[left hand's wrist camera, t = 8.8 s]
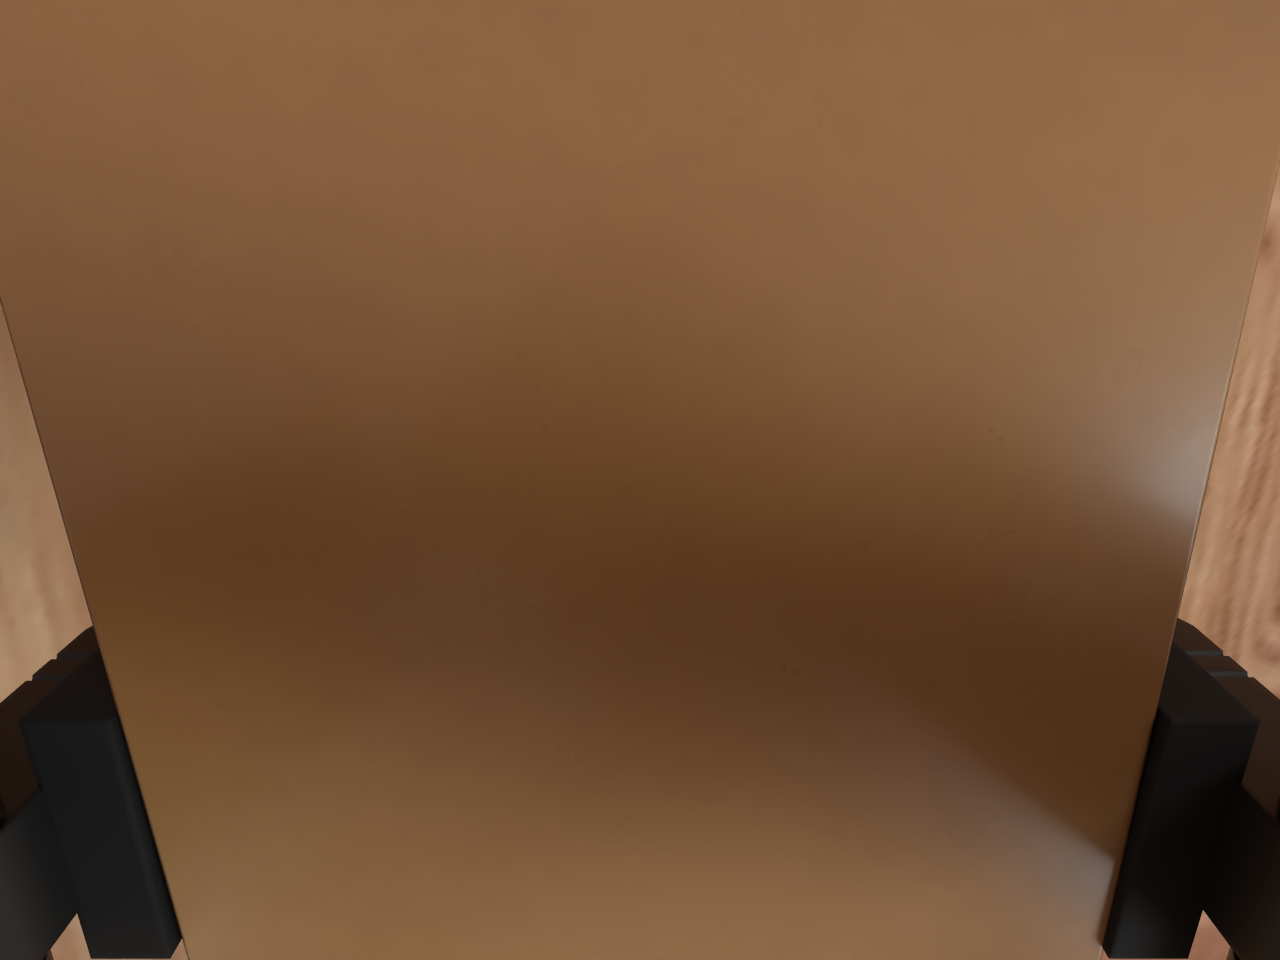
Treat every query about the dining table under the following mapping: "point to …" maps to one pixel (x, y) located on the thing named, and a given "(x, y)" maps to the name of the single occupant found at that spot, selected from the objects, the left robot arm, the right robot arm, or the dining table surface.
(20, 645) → the dining table surface
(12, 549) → the dining table surface
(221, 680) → the long beam
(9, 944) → the left robot arm
